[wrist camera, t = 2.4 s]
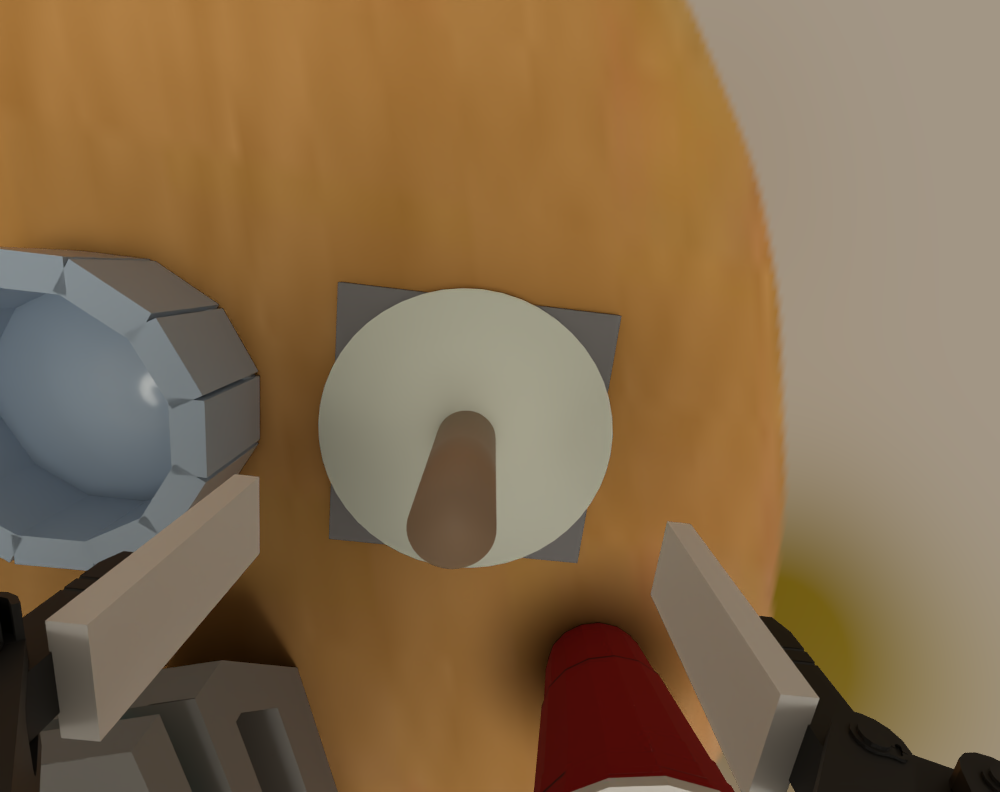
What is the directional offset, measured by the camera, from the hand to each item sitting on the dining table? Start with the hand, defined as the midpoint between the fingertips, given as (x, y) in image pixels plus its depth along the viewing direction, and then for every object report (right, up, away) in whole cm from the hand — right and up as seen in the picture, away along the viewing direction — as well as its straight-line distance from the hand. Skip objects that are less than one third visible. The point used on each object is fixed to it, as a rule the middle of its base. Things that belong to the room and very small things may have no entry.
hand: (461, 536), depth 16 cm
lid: (-1, +3, +10) cm, 10 cm away
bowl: (-18, +5, +10) cm, 21 cm away
